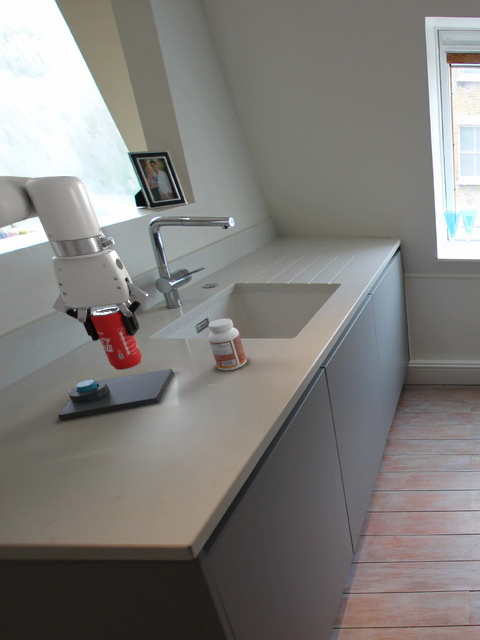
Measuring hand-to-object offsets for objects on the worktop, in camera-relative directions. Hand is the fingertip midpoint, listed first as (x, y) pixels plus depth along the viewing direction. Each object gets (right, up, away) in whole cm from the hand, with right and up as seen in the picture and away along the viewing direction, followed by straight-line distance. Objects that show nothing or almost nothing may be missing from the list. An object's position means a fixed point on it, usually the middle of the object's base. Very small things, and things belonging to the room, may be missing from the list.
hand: (116, 334), depth 89 cm
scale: (-3, -13, +5) cm, 14 cm away
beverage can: (0, -6, +3) cm, 7 cm away
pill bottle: (+14, -8, +17) cm, 23 cm away
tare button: (-7, -11, +2) cm, 14 cm away
